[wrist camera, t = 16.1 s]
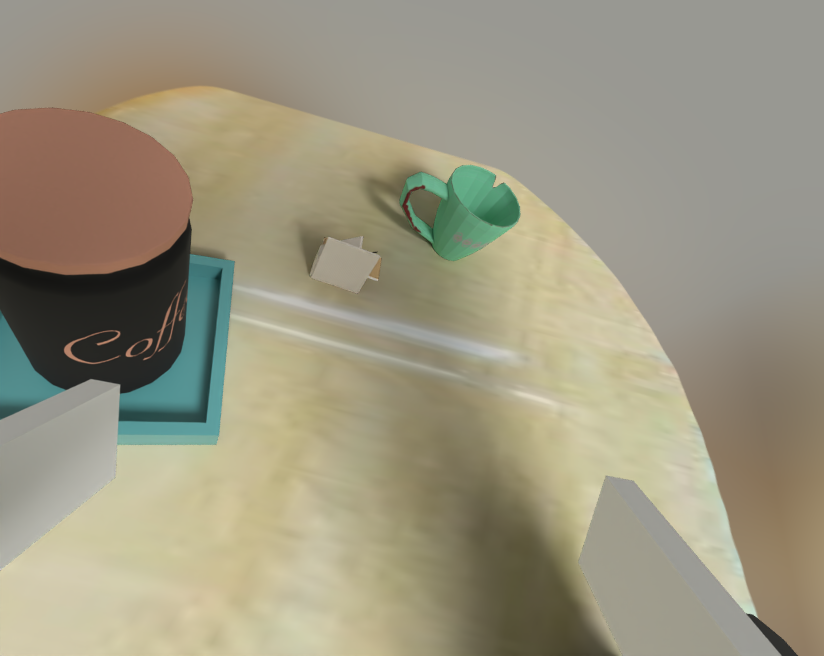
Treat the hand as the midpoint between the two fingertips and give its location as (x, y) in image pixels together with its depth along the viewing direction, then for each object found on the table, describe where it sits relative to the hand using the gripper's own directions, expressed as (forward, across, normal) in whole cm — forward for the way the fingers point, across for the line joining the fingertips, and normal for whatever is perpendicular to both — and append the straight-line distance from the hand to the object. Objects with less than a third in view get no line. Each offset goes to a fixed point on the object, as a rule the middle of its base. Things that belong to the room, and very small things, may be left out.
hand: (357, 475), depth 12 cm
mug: (+51, +2, +5) cm, 51 cm away
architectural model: (+40, -8, -1) cm, 41 cm away
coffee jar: (+24, -23, -7) cm, 34 cm away
